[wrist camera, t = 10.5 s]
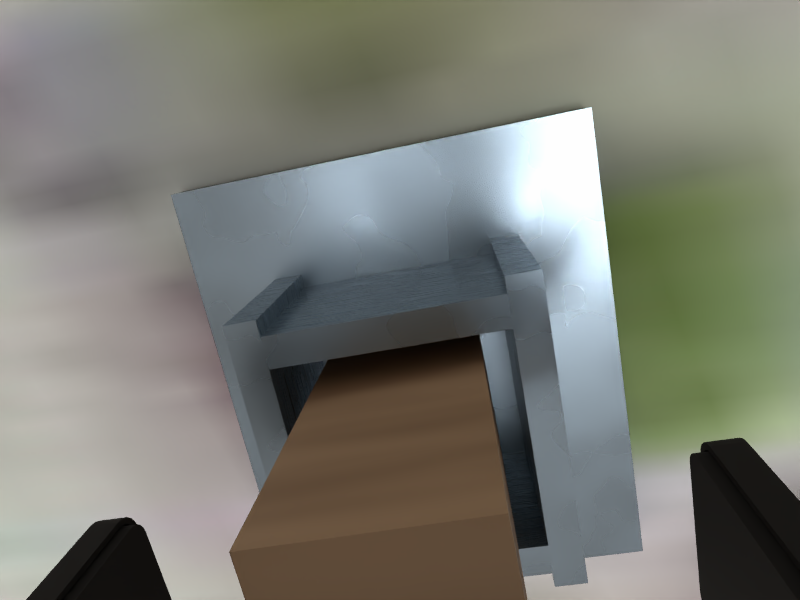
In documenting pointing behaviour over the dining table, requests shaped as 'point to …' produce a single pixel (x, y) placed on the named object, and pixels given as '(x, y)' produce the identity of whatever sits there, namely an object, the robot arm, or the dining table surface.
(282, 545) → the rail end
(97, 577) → the robot arm
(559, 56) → the dining table surface
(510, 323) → the cup bracket
